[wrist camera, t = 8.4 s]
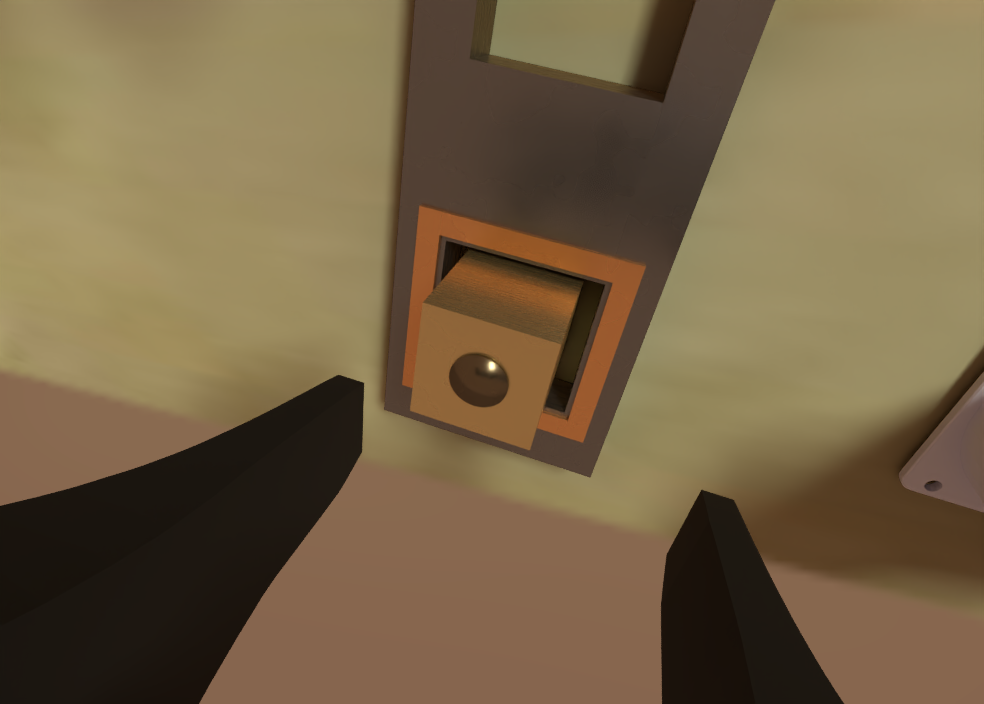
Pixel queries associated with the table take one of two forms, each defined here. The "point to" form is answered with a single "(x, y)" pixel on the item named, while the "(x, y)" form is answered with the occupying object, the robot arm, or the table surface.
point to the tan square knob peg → (493, 345)
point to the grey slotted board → (557, 190)
